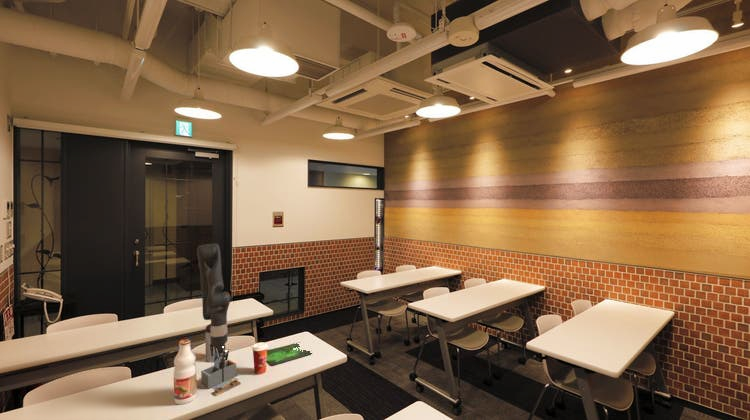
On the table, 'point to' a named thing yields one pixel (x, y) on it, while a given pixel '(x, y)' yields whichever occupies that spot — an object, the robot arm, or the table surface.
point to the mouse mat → (285, 354)
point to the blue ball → (217, 362)
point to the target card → (224, 383)
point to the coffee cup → (260, 357)
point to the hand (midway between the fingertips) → (219, 366)
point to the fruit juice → (185, 374)
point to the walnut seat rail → (226, 387)
